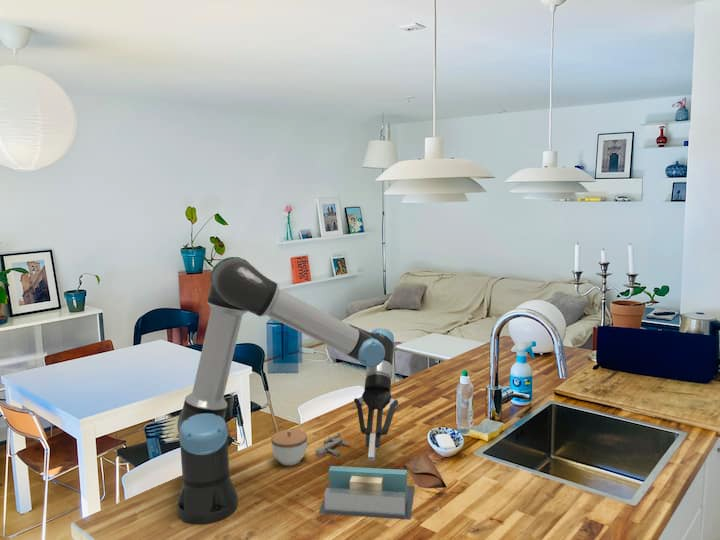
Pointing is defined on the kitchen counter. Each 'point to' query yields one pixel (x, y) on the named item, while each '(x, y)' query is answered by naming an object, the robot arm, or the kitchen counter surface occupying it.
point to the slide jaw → (391, 477)
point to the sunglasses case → (425, 472)
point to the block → (366, 483)
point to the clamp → (324, 449)
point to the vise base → (368, 503)
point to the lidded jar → (289, 446)
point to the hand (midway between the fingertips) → (371, 458)
